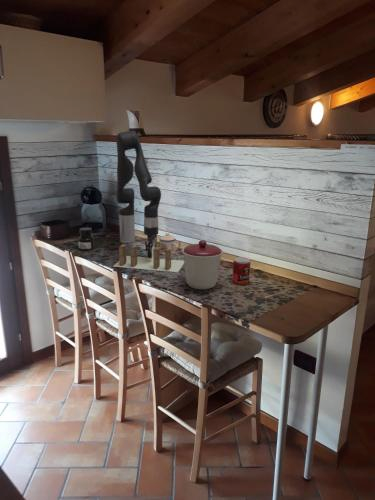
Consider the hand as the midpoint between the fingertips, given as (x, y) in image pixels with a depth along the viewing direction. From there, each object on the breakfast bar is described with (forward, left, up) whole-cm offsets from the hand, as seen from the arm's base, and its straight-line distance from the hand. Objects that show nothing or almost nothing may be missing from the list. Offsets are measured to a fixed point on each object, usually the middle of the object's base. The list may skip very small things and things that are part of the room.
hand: (151, 256), depth 207 cm
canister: (+28, +32, -3) cm, 43 cm away
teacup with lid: (-15, +6, -3) cm, 16 cm away
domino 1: (+10, -12, -2) cm, 16 cm away
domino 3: (0, 0, -2) cm, 2 cm away
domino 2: (+10, -6, -2) cm, 12 cm away
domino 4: (+10, +6, -2) cm, 12 cm away
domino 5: (+10, +12, -2) cm, 16 cm away
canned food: (+19, +49, -3) cm, 53 cm away
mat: (+5, +1, -3) cm, 6 cm away
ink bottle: (-12, -43, -3) cm, 45 cm away
